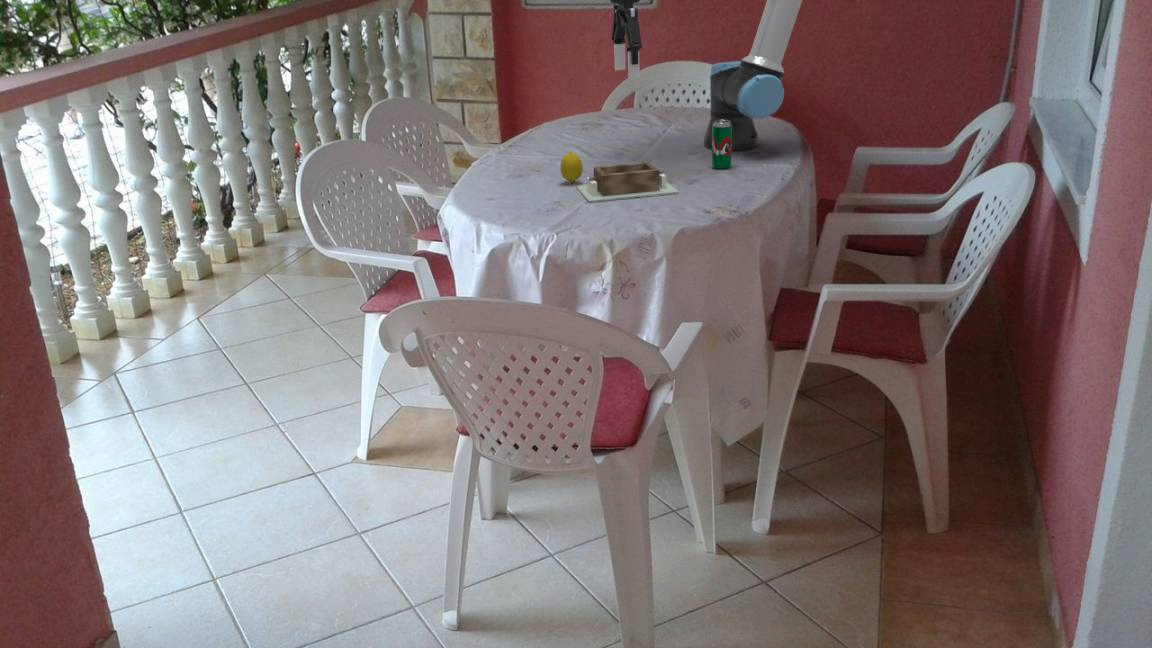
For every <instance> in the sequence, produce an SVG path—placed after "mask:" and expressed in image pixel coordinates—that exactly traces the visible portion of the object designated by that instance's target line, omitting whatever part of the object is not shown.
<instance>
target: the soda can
mask: <svg viewBox="0 0 1152 648" xmlns="http://www.w3.org/2000/svg"><path fill="white" fill-rule="evenodd" d="M732 153H733V150H732V124H731V121H729V120H716V121H714V124H713V125H712V149H711V167H713V169H716V170H728V169H730V168H731V167H732V161H733V160H732V156H733V154H732Z"/></svg>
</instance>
